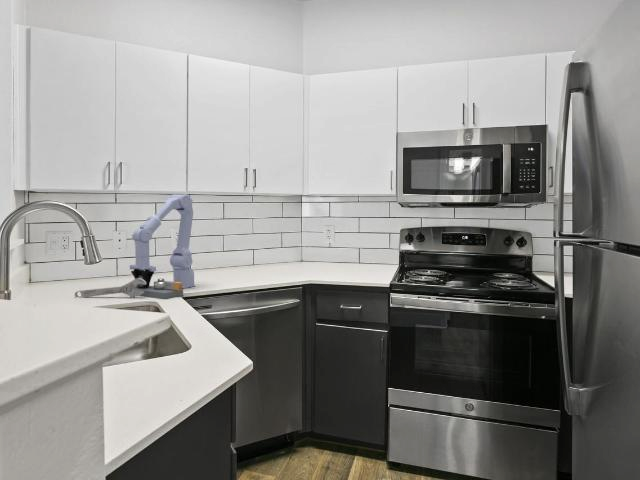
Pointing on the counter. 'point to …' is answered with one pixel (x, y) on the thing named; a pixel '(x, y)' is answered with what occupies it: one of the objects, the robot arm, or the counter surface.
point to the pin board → (160, 293)
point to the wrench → (115, 290)
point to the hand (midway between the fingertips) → (143, 286)
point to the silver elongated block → (167, 285)
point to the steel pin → (141, 286)
